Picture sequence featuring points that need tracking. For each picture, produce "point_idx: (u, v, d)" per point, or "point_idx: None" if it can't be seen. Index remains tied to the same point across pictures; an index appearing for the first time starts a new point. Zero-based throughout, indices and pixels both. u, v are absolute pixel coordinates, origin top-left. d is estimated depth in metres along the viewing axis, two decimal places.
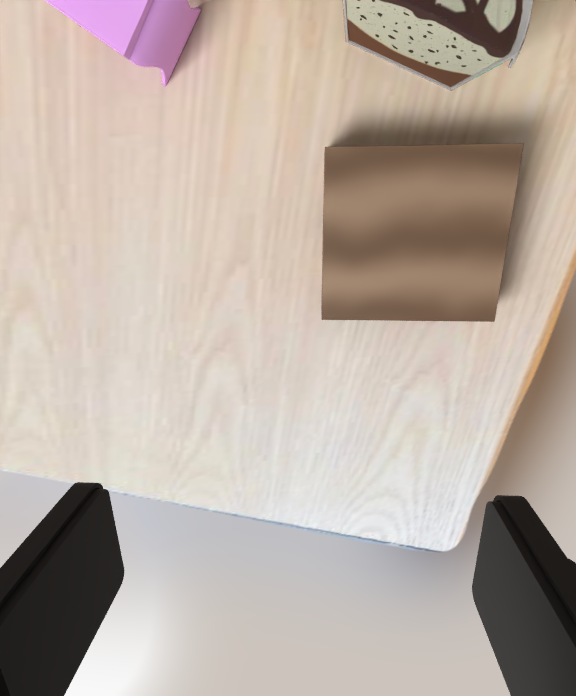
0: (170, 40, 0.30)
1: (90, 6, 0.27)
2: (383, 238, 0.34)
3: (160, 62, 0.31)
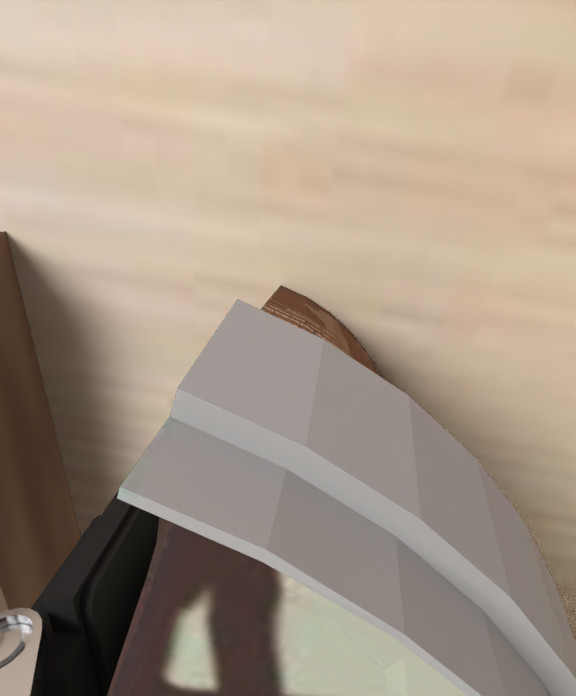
0: None
1: None
2: None
3: None
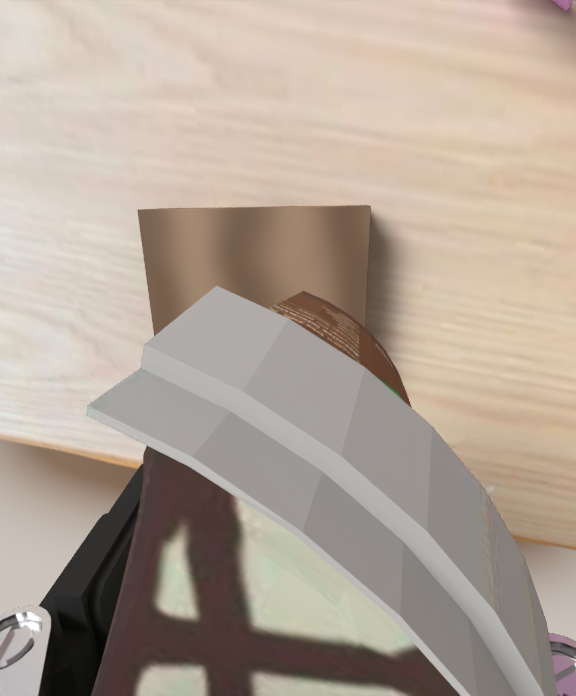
0: None
1: None
2: (255, 290, 0.26)
3: None
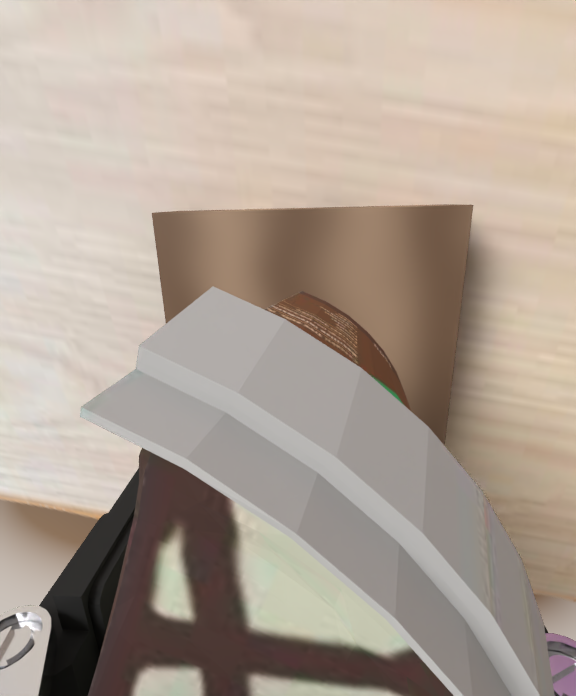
0: None
1: None
2: None
3: None
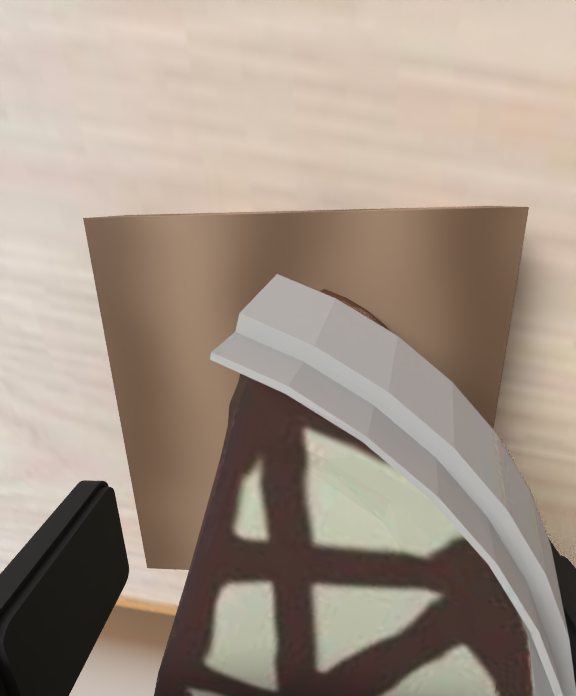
0: None
1: None
2: None
3: None
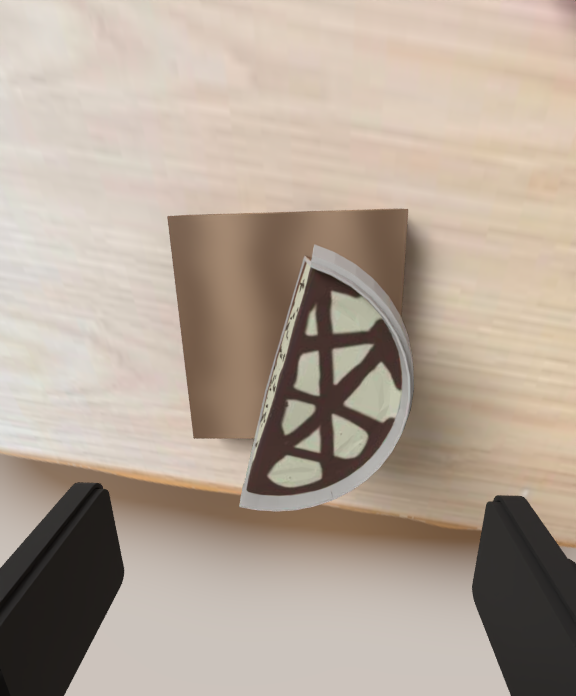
0: None
1: None
2: (288, 297, 0.25)
3: None
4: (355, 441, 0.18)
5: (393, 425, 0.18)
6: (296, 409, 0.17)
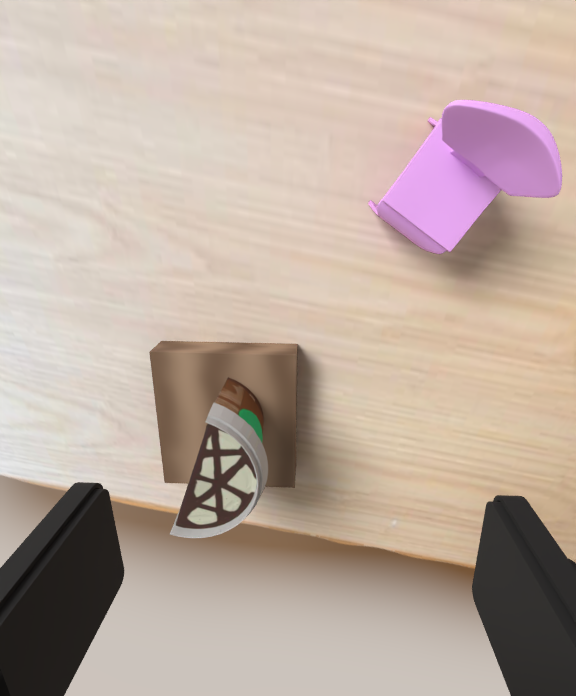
0: (397, 229, 0.34)
1: (425, 173, 0.29)
2: None
3: (381, 217, 0.33)
4: (234, 502, 0.33)
5: (253, 496, 0.33)
6: (201, 485, 0.33)
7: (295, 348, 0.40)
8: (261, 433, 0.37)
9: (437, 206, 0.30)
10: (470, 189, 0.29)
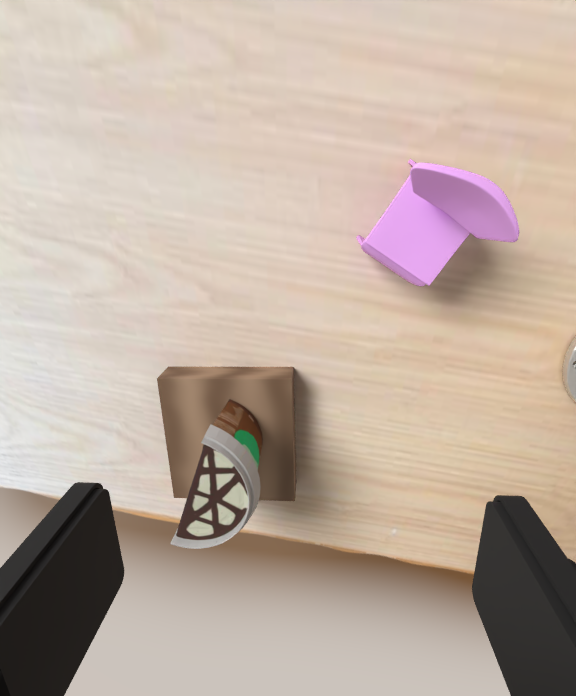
0: None
1: (403, 216, 0.32)
2: None
3: (367, 253, 0.36)
4: (229, 517, 0.36)
5: (246, 511, 0.36)
6: (199, 499, 0.36)
7: (291, 372, 0.43)
8: (257, 452, 0.40)
9: (415, 245, 0.33)
10: (445, 230, 0.32)
